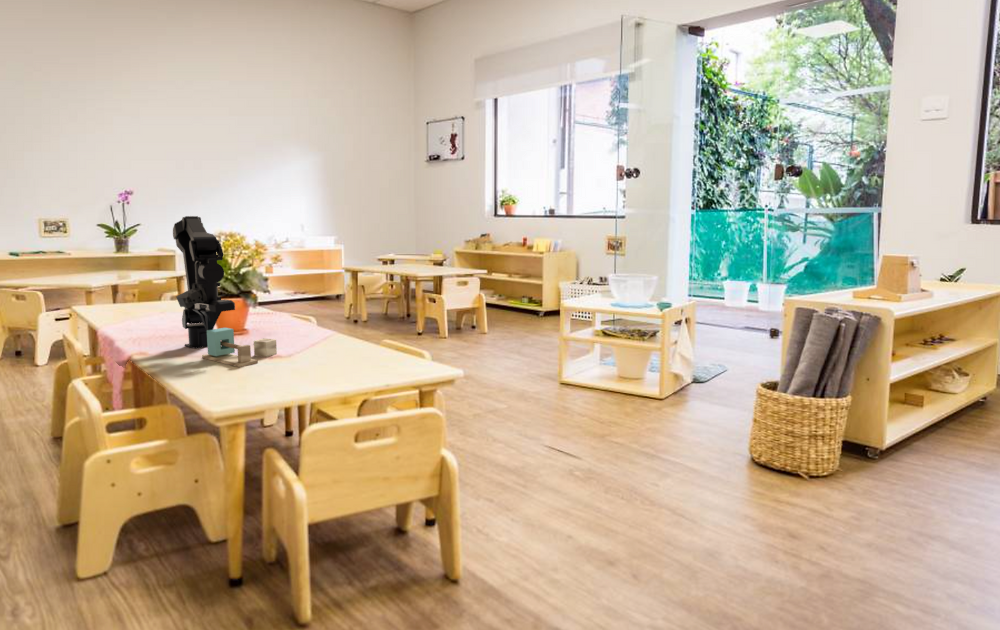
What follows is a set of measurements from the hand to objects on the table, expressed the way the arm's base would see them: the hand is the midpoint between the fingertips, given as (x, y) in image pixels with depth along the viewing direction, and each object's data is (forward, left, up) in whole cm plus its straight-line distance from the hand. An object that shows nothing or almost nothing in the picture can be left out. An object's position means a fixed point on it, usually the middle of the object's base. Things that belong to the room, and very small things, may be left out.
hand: (209, 332), depth 204 cm
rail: (+10, 0, -7) cm, 12 cm away
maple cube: (+11, +11, -7) cm, 17 cm away
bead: (+6, 0, -6) cm, 8 cm away
